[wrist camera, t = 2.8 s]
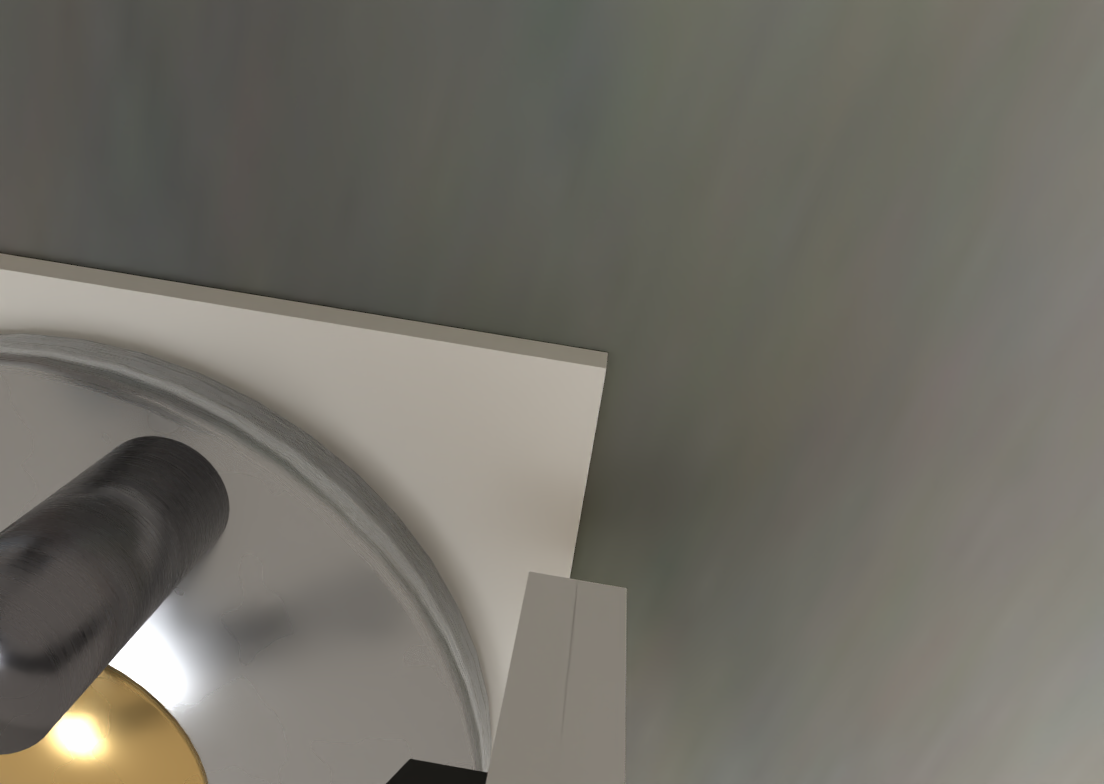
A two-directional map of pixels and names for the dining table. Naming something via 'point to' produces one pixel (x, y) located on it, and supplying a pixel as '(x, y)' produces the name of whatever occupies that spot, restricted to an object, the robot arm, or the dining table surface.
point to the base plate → (377, 415)
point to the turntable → (207, 591)
